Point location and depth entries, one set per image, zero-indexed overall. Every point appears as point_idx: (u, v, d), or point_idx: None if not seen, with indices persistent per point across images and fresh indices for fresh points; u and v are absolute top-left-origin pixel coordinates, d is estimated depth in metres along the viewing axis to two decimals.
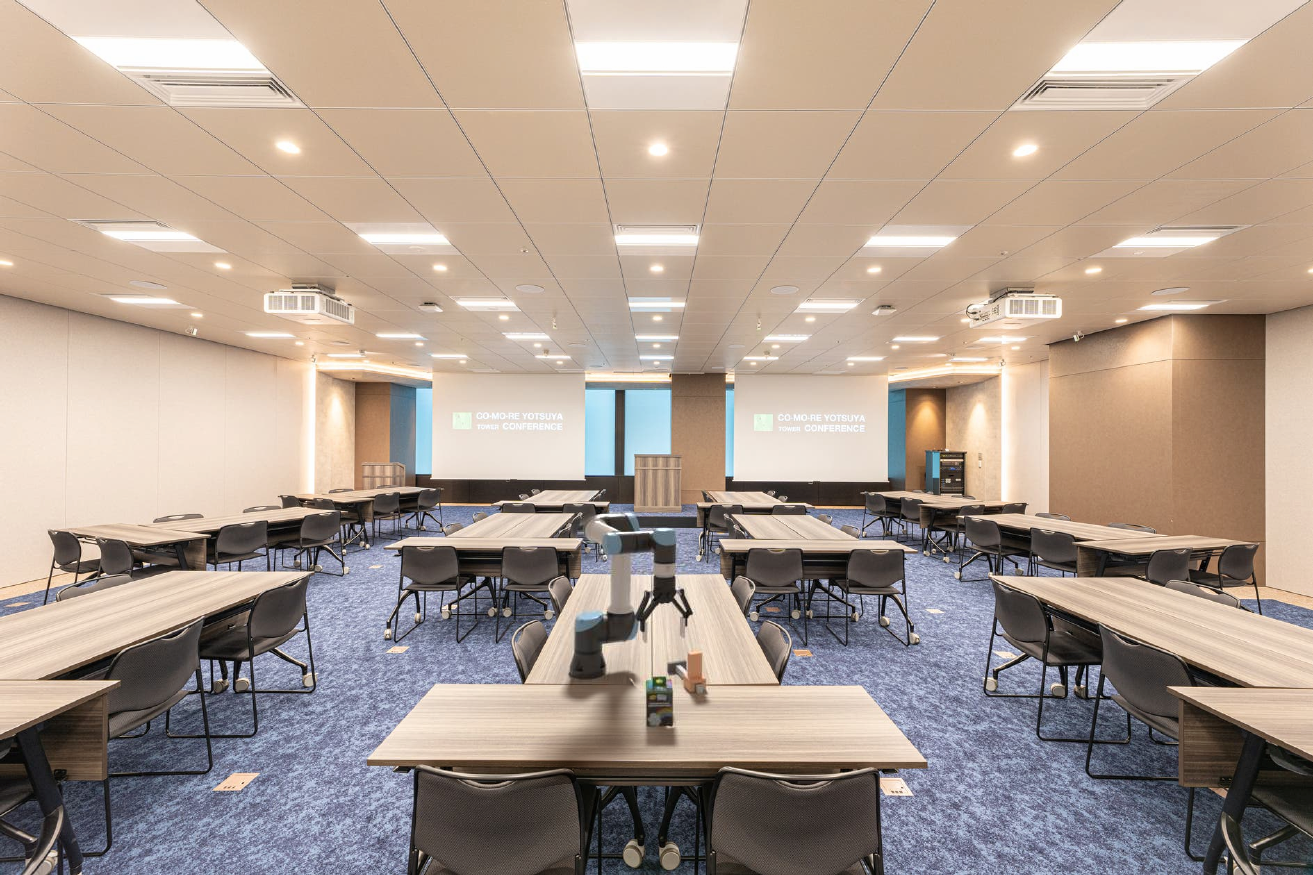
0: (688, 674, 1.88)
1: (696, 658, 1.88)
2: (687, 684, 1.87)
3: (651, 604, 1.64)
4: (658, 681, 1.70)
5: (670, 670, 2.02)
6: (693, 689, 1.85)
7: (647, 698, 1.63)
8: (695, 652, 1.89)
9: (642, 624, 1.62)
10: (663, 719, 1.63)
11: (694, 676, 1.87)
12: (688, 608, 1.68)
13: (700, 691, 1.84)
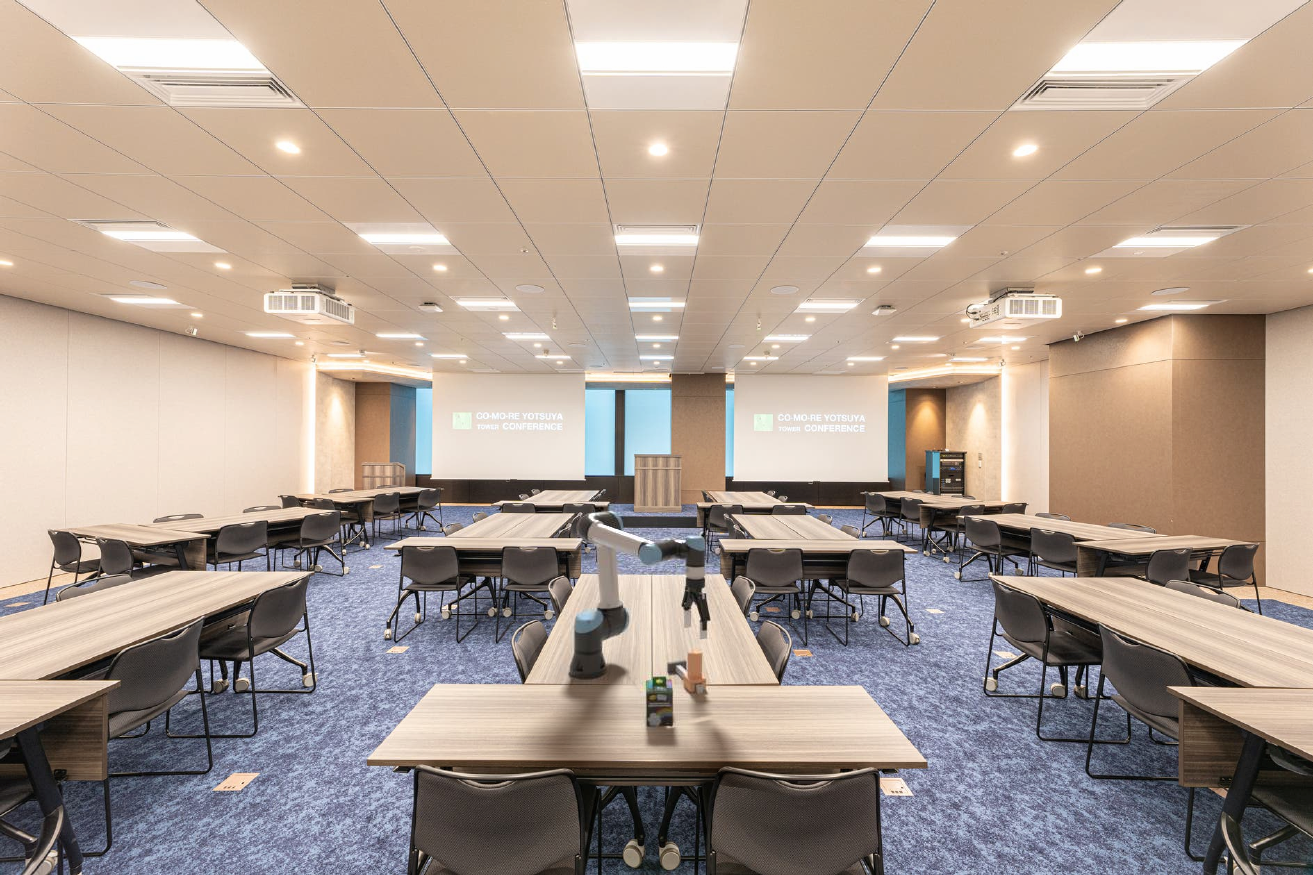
0: (688, 674, 1.88)
1: (696, 658, 1.88)
2: (687, 684, 1.87)
3: None
4: (658, 681, 1.70)
5: (670, 670, 2.02)
6: (693, 689, 1.85)
7: (647, 698, 1.63)
8: (695, 652, 1.89)
9: None
10: (663, 719, 1.63)
11: (694, 676, 1.87)
12: (702, 614, 1.81)
13: (700, 691, 1.84)
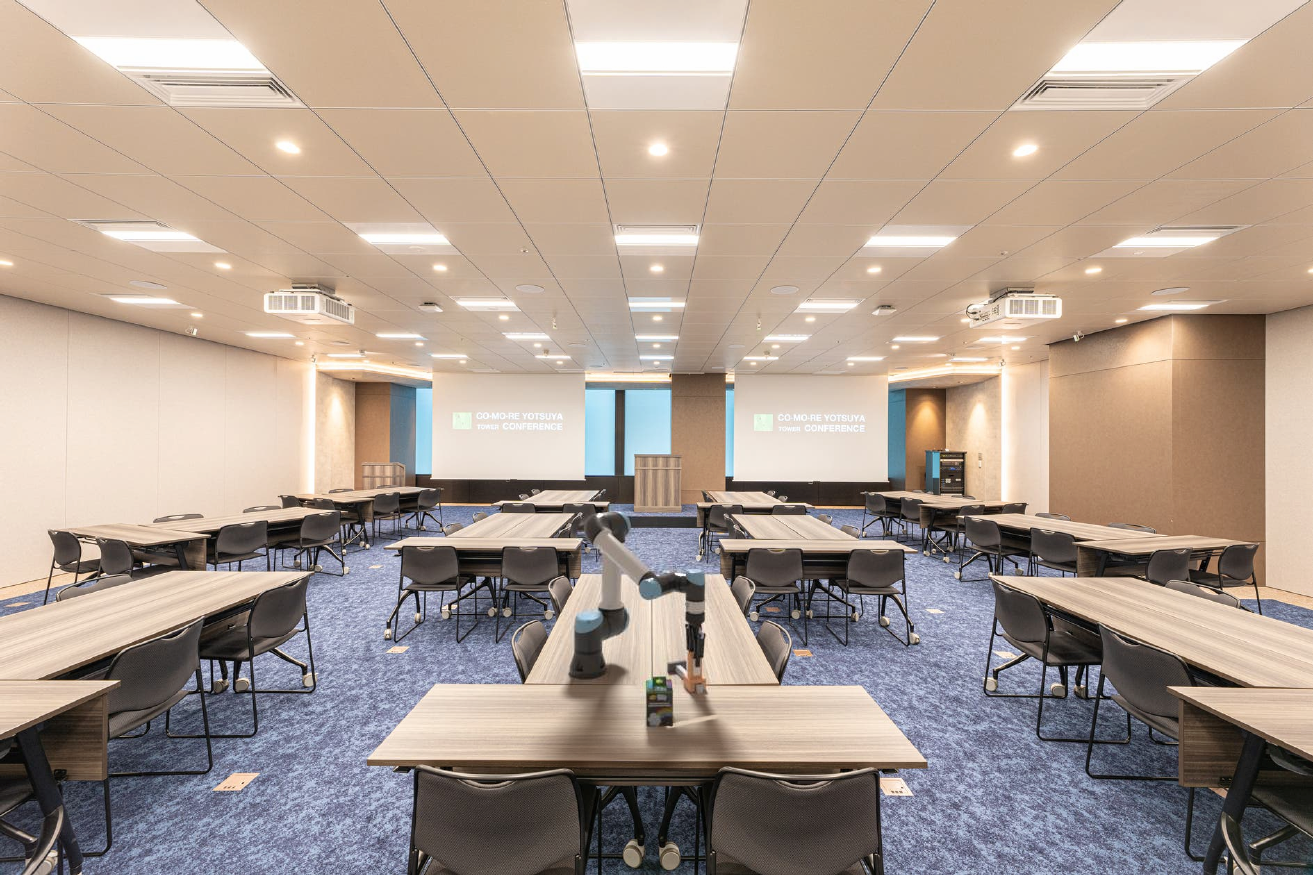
0: (688, 674, 1.88)
1: None
2: (687, 684, 1.87)
3: None
4: (658, 681, 1.70)
5: (670, 670, 2.02)
6: (693, 689, 1.85)
7: (647, 698, 1.63)
8: None
9: None
10: (663, 719, 1.63)
11: (694, 676, 1.87)
12: (697, 651, 1.85)
13: (700, 691, 1.84)
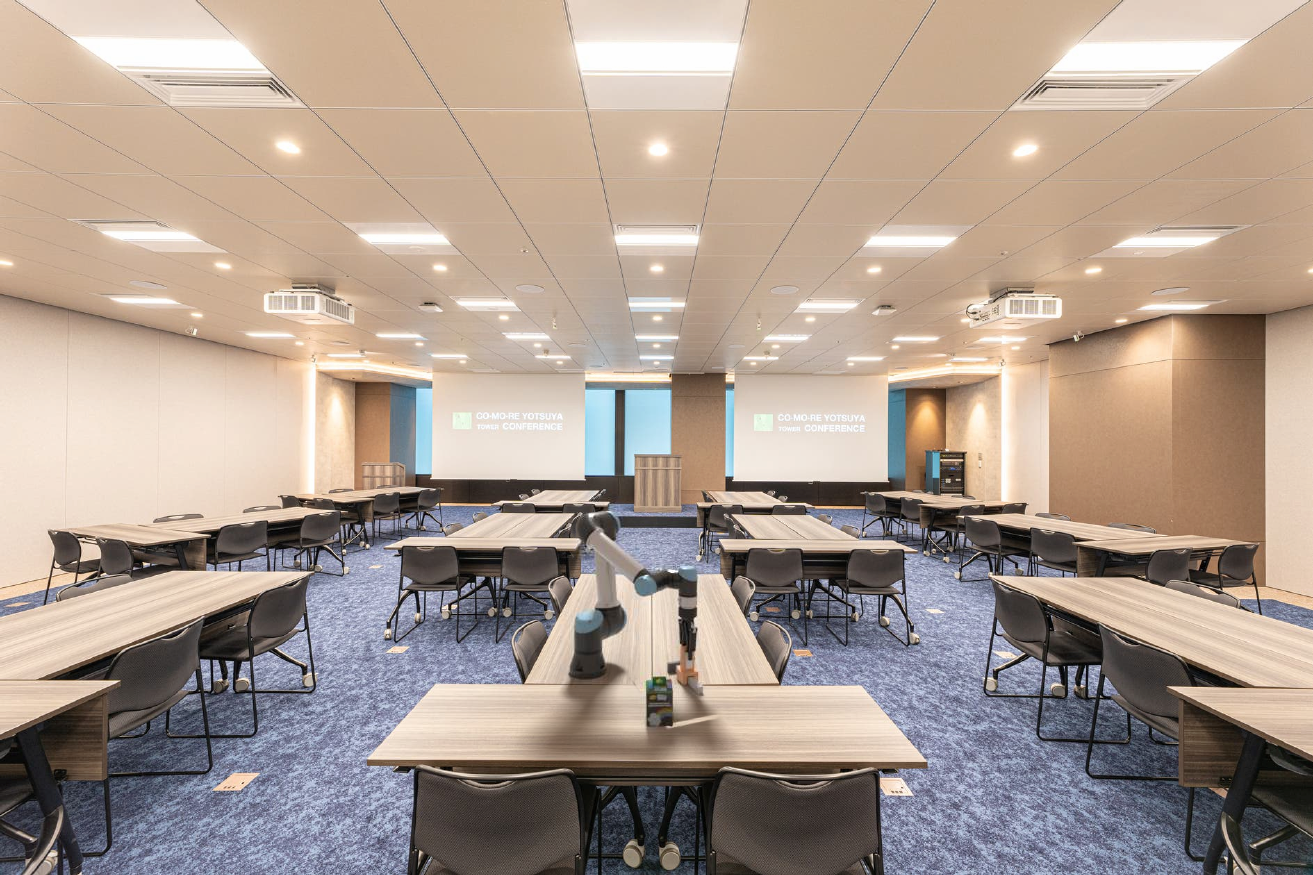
0: (681, 667, 1.94)
1: None
2: (680, 676, 1.93)
3: None
4: (658, 681, 1.70)
5: (670, 670, 2.02)
6: (686, 682, 1.91)
7: (647, 698, 1.63)
8: None
9: None
10: (663, 719, 1.63)
11: (687, 669, 1.93)
12: (689, 645, 1.91)
13: (700, 691, 1.84)
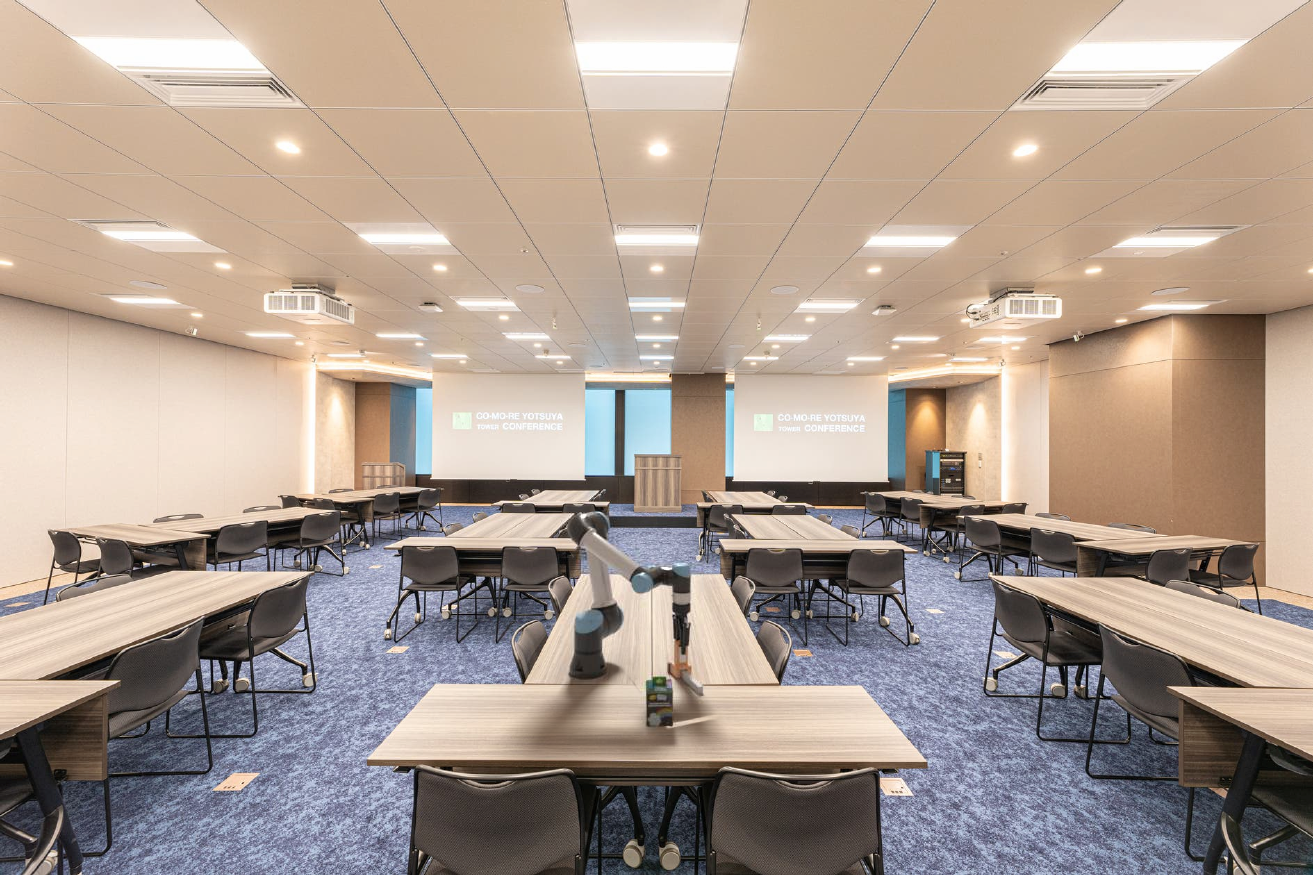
0: (675, 661, 2.00)
1: None
2: (674, 670, 1.98)
3: None
4: (658, 681, 1.70)
5: None
6: (679, 675, 1.97)
7: (647, 698, 1.63)
8: None
9: None
10: (663, 719, 1.63)
11: (680, 663, 1.99)
12: (683, 639, 1.96)
13: (700, 691, 1.84)
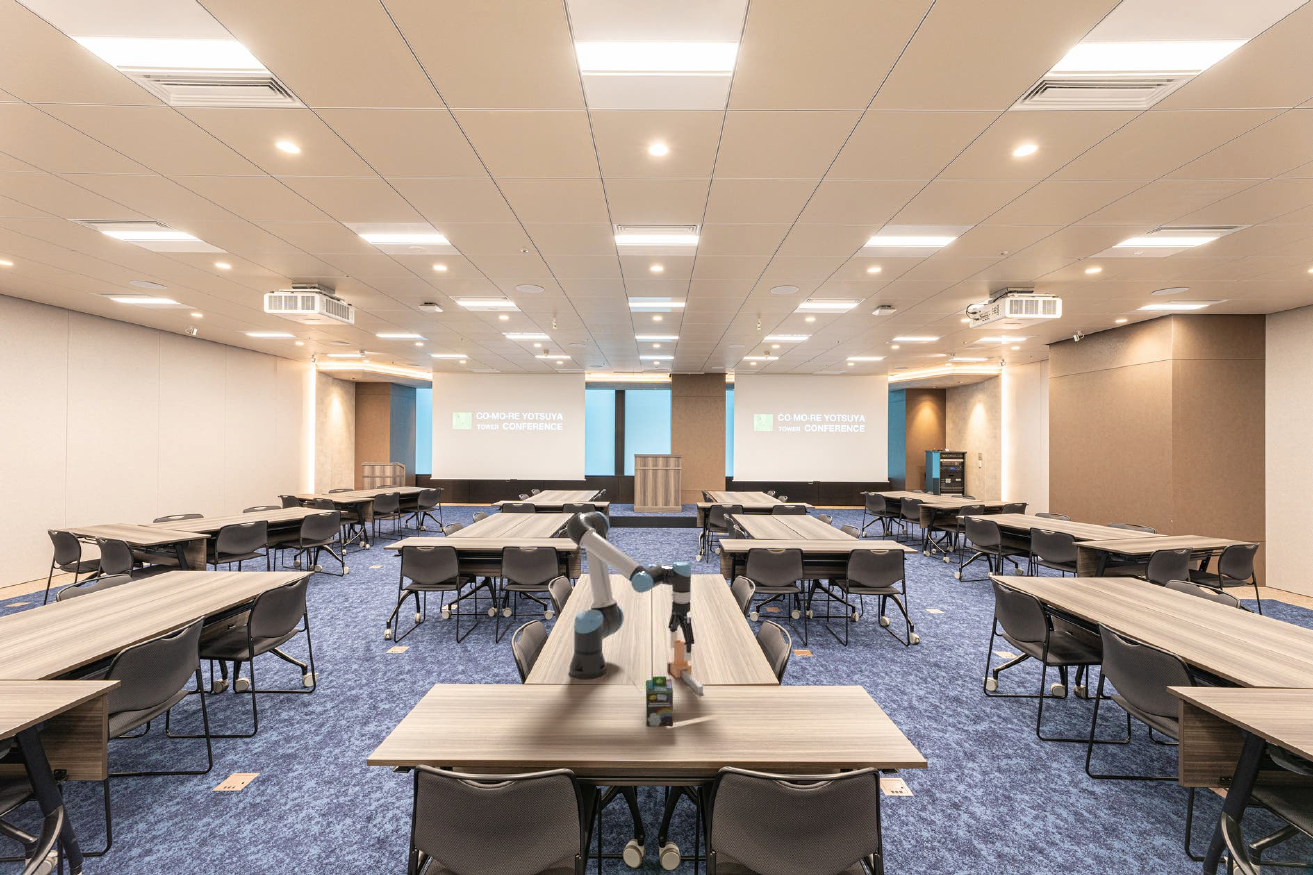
0: (674, 661, 2.00)
1: (682, 646, 2.00)
2: (674, 670, 1.98)
3: None
4: (658, 681, 1.70)
5: None
6: (679, 675, 1.97)
7: (647, 698, 1.63)
8: (681, 641, 2.01)
9: (671, 632, 2.08)
10: (663, 719, 1.63)
11: (680, 663, 1.99)
12: (687, 637, 1.93)
13: (700, 691, 1.84)
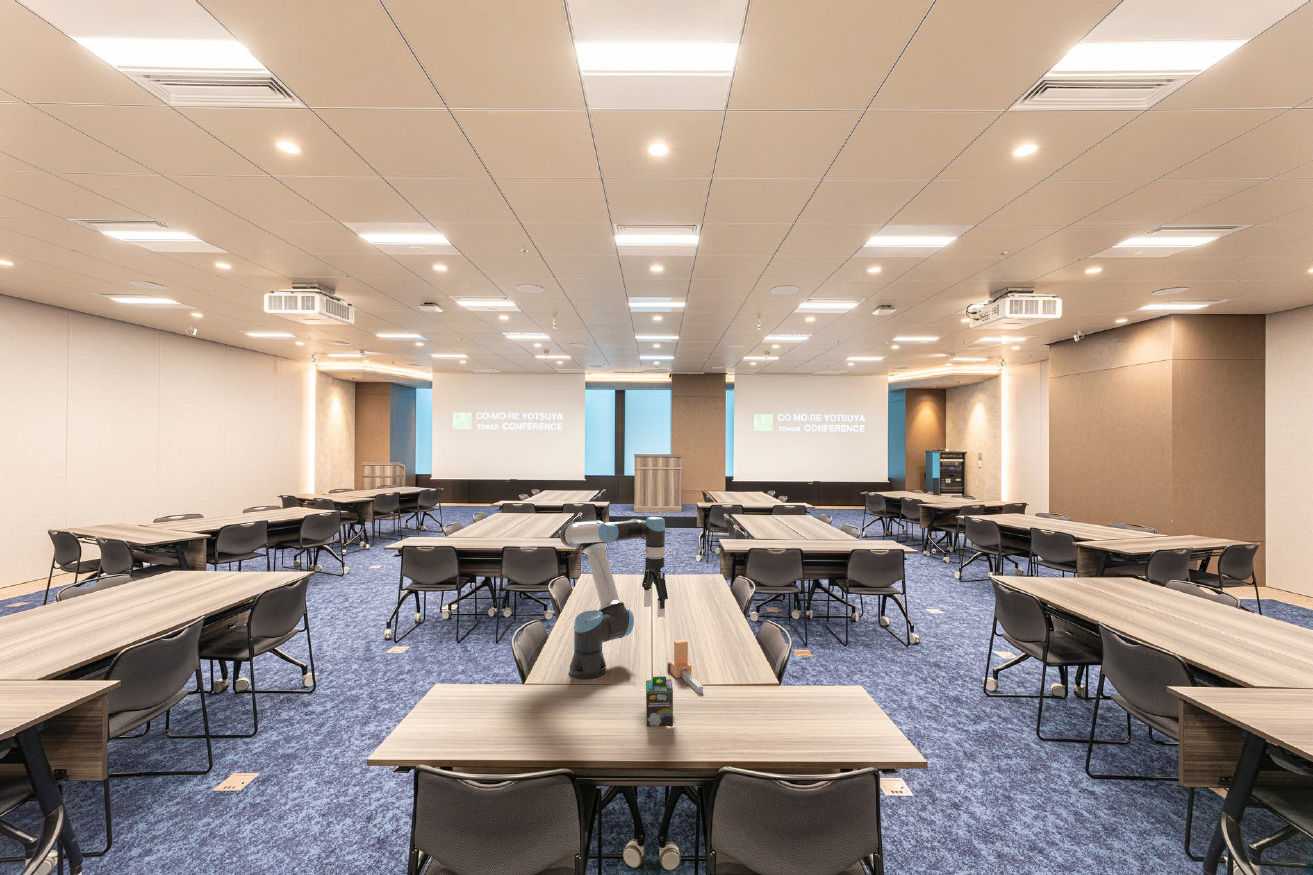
0: (674, 661, 2.00)
1: (682, 646, 2.00)
2: (674, 670, 1.98)
3: None
4: (658, 681, 1.70)
5: None
6: (679, 675, 1.97)
7: (647, 698, 1.63)
8: (681, 641, 2.01)
9: None
10: (663, 719, 1.63)
11: (680, 663, 1.99)
12: (660, 592, 1.86)
13: (700, 691, 1.84)
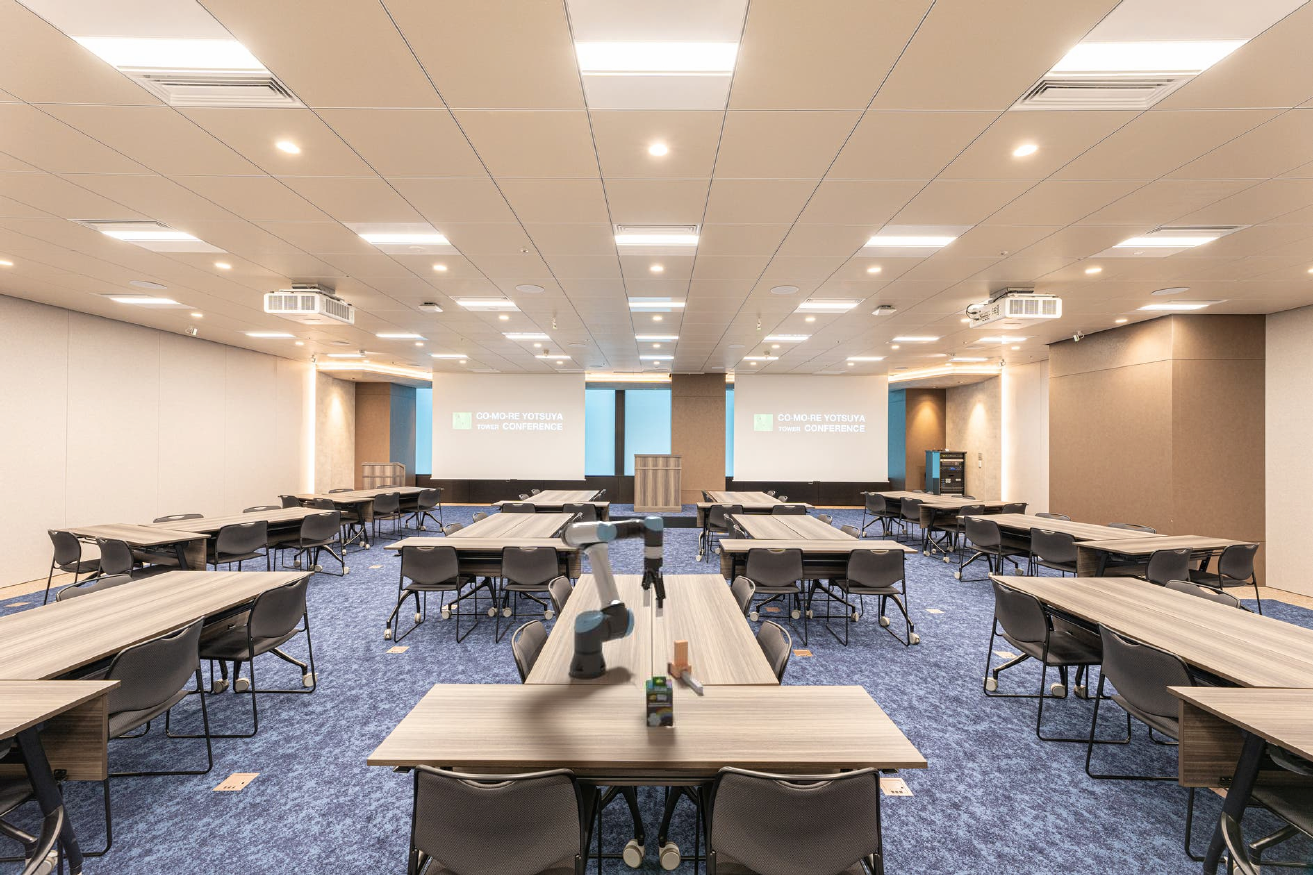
0: (674, 661, 2.00)
1: (682, 646, 2.00)
2: (674, 670, 1.98)
3: None
4: (658, 681, 1.70)
5: None
6: (679, 675, 1.97)
7: (647, 698, 1.63)
8: (681, 641, 2.01)
9: None
10: (663, 719, 1.63)
11: (680, 663, 1.99)
12: (658, 592, 1.85)
13: (700, 691, 1.84)
